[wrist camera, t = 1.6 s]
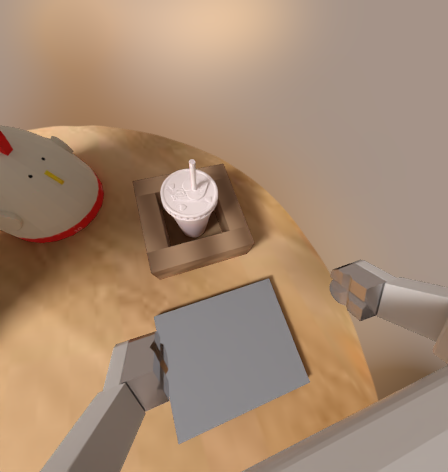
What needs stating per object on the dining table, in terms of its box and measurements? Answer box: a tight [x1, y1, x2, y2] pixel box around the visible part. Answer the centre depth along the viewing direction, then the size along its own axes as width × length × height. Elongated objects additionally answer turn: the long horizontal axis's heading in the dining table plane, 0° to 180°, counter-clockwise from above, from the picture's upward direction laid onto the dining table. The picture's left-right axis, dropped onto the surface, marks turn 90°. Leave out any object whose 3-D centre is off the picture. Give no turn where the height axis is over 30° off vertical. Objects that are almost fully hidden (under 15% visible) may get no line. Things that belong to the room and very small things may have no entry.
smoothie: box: [160, 159, 218, 238], centre depth 24 cm, size 6×6×14 cm
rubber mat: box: [154, 278, 310, 444], centre depth 25 cm, size 16×13×1 cm
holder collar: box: [133, 164, 254, 279], centre depth 28 cm, size 13×13×5 cm
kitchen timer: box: [0, 126, 104, 243], centre depth 23 cm, size 14×14×15 cm
